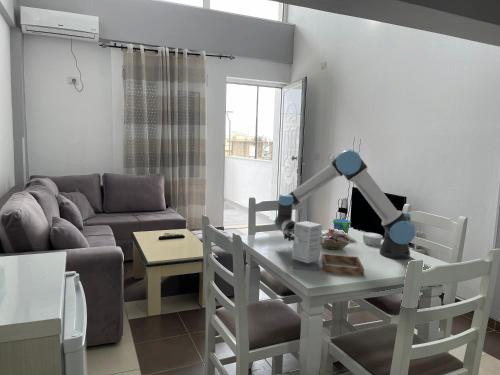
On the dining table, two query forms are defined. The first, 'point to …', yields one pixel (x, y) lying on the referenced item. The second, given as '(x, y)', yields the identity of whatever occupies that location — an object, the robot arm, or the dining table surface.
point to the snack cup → (342, 224)
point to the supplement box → (307, 241)
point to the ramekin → (372, 238)
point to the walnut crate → (342, 269)
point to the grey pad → (305, 265)
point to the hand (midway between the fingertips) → (310, 240)
